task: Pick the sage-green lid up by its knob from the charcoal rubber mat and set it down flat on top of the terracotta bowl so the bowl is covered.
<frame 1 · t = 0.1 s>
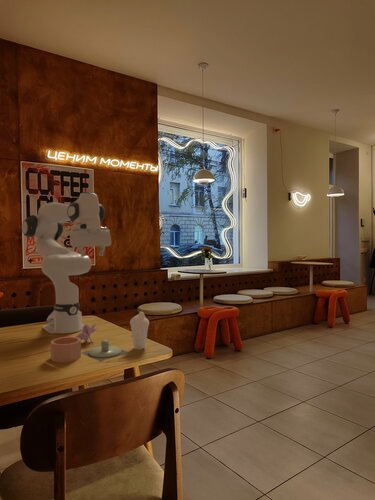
hand: (92, 256, 165), 39 cm above the table, tool pointing down, fingers open, 8 cm apart
lily: (86, 344, 159), on the table
bowl: (66, 358, 140), on the table
mat: (105, 353, 146), on the table
lid: (105, 352, 146), resting on mat
soft serve ice cream cone: (139, 348, 153), on the table
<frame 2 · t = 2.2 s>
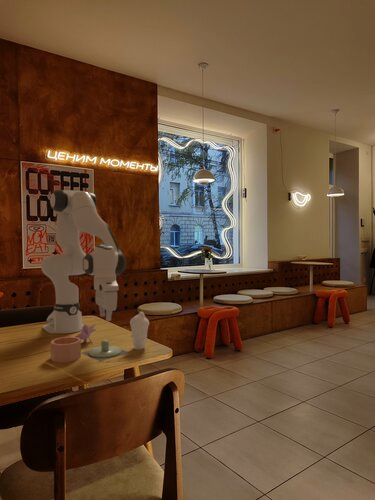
hand: (105, 318, 145), 15 cm above the table, tool pointing down, fingers open, 8 cm apart
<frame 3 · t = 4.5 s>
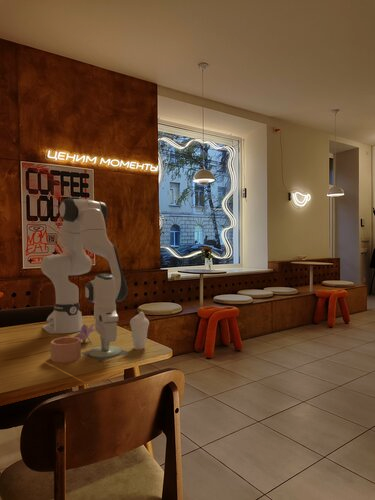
hand: (105, 347, 146), 3 cm above the table, tool pointing down, fingers closed on lid, 3 cm apart
lid: (105, 352, 146), resting on mat, touching gripper
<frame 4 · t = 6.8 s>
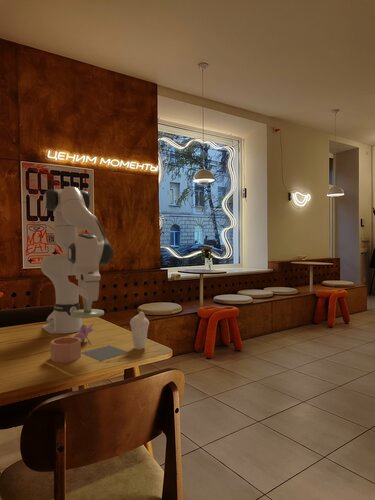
hand: (87, 308, 143), 19 cm above the table, tool pointing down, fingers closed on lid, 3 cm apart
lid: (87, 314, 143), point 17 cm above the table, touching gripper
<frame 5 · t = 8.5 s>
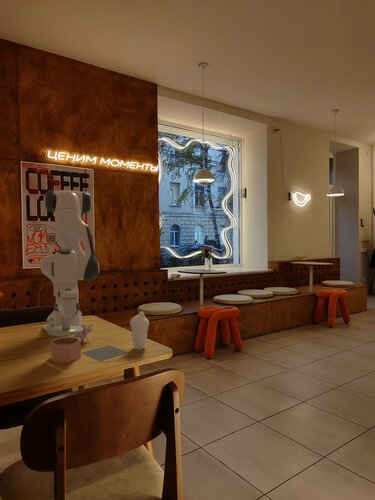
hand: (66, 326, 139), 13 cm above the table, tool pointing down, fingers closed on lid, 3 cm apart
lid: (66, 331, 139), point 11 cm above the table, touching gripper
when the fingers open (11 cm above the table, at t = 9.6 s): lid drops 1 cm, resting on bowl.
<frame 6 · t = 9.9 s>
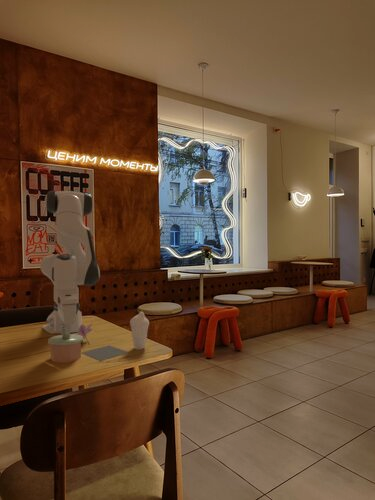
hand: (65, 331, 139), 11 cm above the table, tool pointing down, fingers open, 6 cm apart
bowl: (66, 358, 140), on the table, touching lid
lid: (66, 340, 140), point 7 cm above the table, touching bowl
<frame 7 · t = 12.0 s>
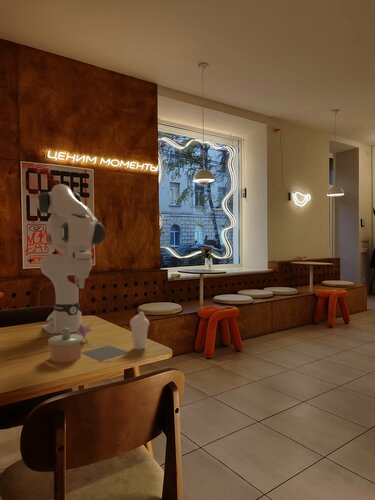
hand: (79, 286, 147), 27 cm above the table, tool pointing down, fingers open, 8 cm apart
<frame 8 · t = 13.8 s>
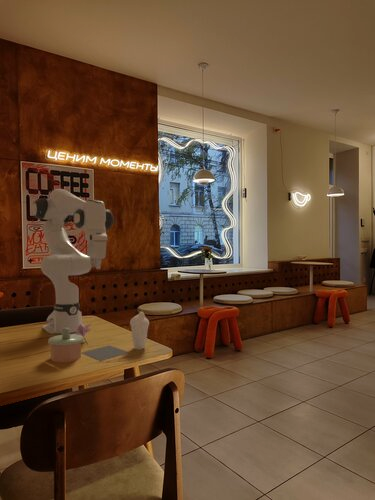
hand: (95, 268, 157), 34 cm above the table, tool pointing down, fingers open, 8 cm apart
at the end: lid 0.1 cm from the bowl (horizontally); lid point 7.0 cm above the table; lid tilted 0° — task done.
